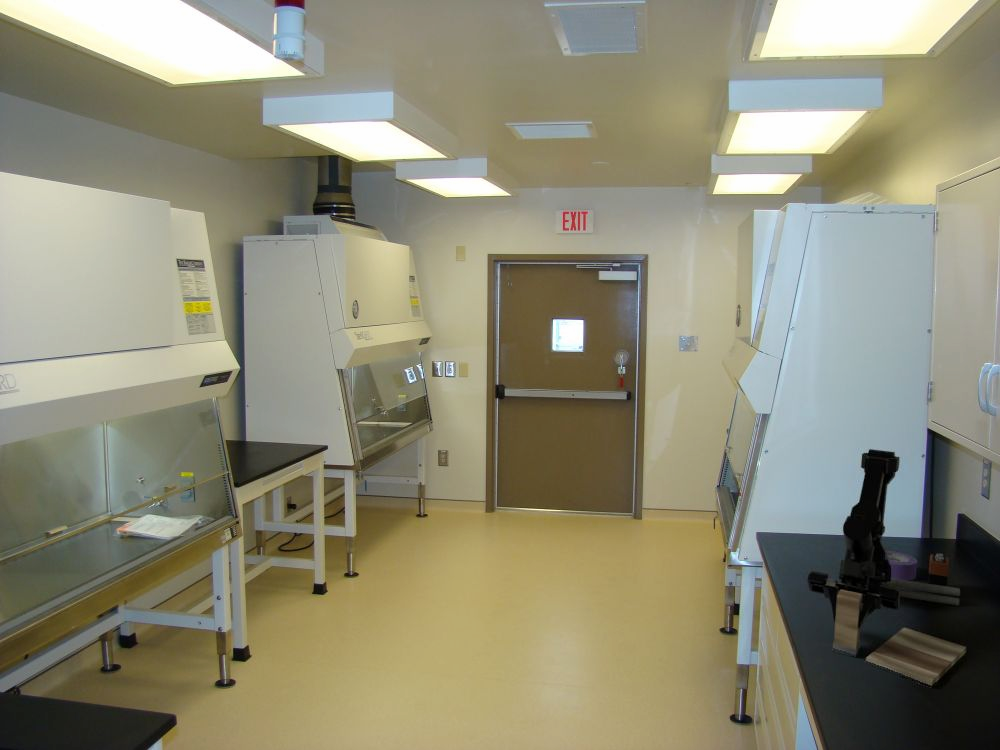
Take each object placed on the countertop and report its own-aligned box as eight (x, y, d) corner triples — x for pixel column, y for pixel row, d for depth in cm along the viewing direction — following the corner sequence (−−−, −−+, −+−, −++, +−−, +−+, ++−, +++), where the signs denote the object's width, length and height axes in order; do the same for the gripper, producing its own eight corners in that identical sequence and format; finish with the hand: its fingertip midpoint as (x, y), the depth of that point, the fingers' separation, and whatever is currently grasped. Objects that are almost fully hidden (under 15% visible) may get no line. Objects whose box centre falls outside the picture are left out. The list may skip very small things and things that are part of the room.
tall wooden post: (836, 643, 173) (839, 588, 171) (859, 649, 170) (863, 593, 168) (832, 651, 169) (836, 596, 167) (855, 657, 166) (859, 601, 164)
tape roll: (905, 567, 222) (906, 550, 221) (923, 582, 210) (924, 565, 209) (863, 565, 223) (864, 549, 222) (879, 580, 211) (880, 563, 211)
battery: (927, 593, 202) (929, 557, 201) (927, 585, 208) (930, 550, 206) (945, 597, 200) (949, 561, 198) (946, 589, 205) (949, 553, 204)
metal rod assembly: (957, 604, 196) (958, 585, 195) (959, 608, 193) (960, 589, 193) (848, 587, 206) (849, 570, 205) (848, 591, 203) (850, 573, 203)
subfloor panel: (903, 633, 178) (904, 627, 178) (965, 653, 169) (966, 647, 168) (865, 664, 163) (866, 657, 163) (931, 687, 154) (932, 680, 154)
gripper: (811, 537, 175) (798, 598, 167) (902, 553, 165) (892, 620, 157) (816, 560, 182) (803, 620, 174) (903, 576, 172) (894, 641, 164)
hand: (846, 624), depth 167 cm, fingers closed on tall wooden post, 4 cm apart
